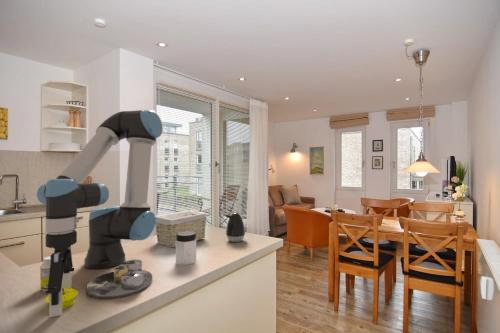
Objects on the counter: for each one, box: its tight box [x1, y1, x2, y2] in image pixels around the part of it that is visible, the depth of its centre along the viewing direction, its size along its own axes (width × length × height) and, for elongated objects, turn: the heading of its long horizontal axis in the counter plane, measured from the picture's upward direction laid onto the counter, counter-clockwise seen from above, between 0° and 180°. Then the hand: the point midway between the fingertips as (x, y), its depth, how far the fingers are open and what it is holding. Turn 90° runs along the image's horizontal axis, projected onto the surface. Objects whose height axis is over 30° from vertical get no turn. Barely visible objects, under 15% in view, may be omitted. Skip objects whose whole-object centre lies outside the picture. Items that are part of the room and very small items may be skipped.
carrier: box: [86, 259, 153, 300], centre depth 93 cm, size 20×20×6 cm
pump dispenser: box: [225, 212, 246, 243], centre depth 146 cm, size 10×10×15 cm
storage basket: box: [155, 209, 207, 248], centre depth 147 cm, size 24×16×15 cm
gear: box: [44, 287, 79, 309], centre depth 80 cm, size 8×4×8 cm
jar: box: [175, 231, 197, 266], centre depth 115 cm, size 9×8×12 cm
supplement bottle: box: [39, 255, 57, 292], centre depth 90 cm, size 6×6×10 cm
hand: (61, 304), depth 79 cm, fingers open, 13 cm apart
